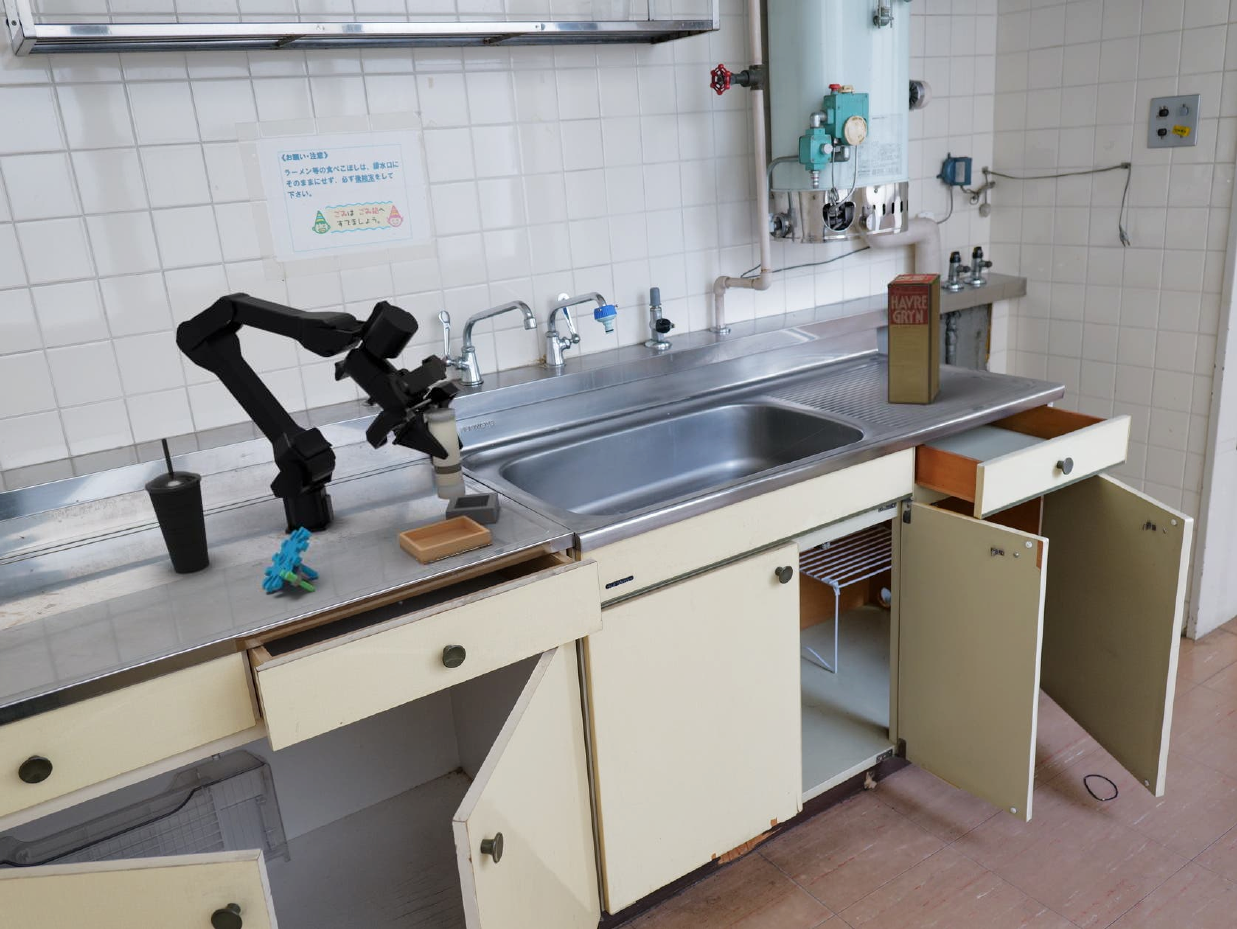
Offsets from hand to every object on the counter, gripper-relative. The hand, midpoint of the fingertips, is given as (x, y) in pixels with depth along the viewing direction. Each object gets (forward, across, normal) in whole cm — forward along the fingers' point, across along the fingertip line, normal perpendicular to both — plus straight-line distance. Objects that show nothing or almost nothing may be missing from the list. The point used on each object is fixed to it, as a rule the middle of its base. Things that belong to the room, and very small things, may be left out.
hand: (454, 453), depth 148 cm
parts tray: (+9, -4, +10) cm, 14 cm away
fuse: (+4, 0, +6) cm, 7 cm away
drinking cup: (-16, -18, +36) cm, 43 cm away
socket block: (+7, +9, +12) cm, 16 cm away
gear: (-2, -20, +21) cm, 30 cm away
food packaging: (+51, +90, -31) cm, 108 cm away
